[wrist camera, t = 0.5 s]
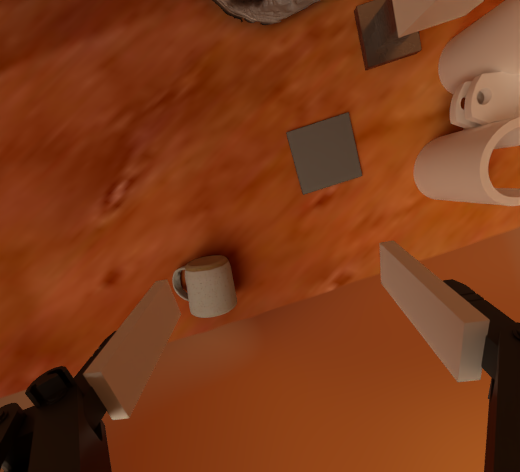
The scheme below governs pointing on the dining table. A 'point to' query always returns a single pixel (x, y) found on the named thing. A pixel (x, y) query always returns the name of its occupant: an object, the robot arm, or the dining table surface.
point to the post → (382, 34)
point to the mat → (324, 153)
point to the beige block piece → (428, 13)
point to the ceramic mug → (207, 286)
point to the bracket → (477, 110)
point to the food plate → (263, 9)
